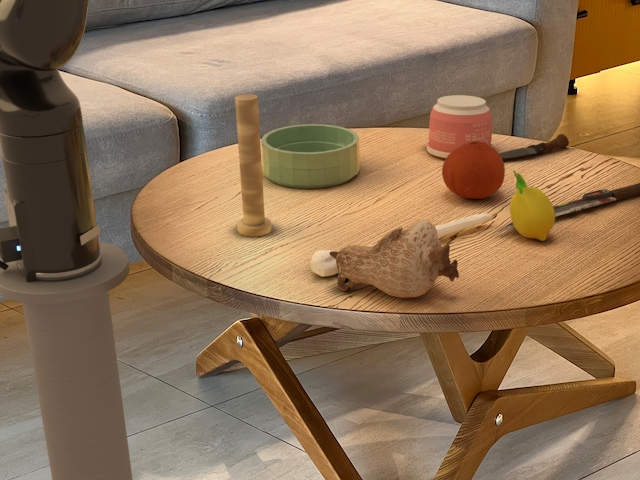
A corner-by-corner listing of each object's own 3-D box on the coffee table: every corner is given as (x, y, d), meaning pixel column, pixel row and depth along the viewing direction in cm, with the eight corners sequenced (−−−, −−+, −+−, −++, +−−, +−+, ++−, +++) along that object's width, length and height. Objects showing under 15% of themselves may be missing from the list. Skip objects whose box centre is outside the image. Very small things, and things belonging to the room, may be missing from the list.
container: (418, 104, 168) (417, 155, 171) (484, 111, 164) (482, 162, 168) (439, 90, 177) (438, 139, 180) (502, 96, 174) (500, 145, 177)
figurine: (456, 317, 125) (341, 306, 132) (475, 243, 129) (362, 236, 135) (431, 282, 118) (310, 272, 124) (451, 204, 121) (332, 199, 128)
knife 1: (563, 132, 176) (578, 138, 172) (563, 145, 177) (578, 151, 173) (468, 146, 171) (481, 153, 167) (469, 160, 172) (481, 167, 168)
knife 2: (497, 239, 142) (660, 192, 157) (496, 225, 141) (660, 179, 156) (483, 234, 144) (645, 188, 159) (483, 221, 143) (645, 176, 158)
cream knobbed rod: (476, 215, 148) (475, 195, 147) (496, 222, 145) (496, 202, 144) (304, 271, 133) (302, 249, 132) (323, 280, 130) (321, 258, 129)
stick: (245, 239, 142) (236, 103, 134) (233, 227, 145) (223, 95, 137) (276, 232, 144) (269, 98, 136) (263, 222, 147) (256, 90, 139)
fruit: (450, 183, 161) (451, 130, 157) (509, 189, 158) (511, 135, 155) (433, 203, 153) (434, 148, 150) (495, 210, 151) (498, 154, 147)
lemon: (547, 235, 136) (516, 162, 137) (512, 252, 140) (483, 181, 141) (575, 228, 141) (545, 157, 142) (541, 245, 145) (512, 176, 146)
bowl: (286, 196, 156) (284, 159, 154) (249, 167, 167) (246, 132, 165) (375, 179, 162) (375, 144, 160) (333, 152, 174) (333, 119, 171)
